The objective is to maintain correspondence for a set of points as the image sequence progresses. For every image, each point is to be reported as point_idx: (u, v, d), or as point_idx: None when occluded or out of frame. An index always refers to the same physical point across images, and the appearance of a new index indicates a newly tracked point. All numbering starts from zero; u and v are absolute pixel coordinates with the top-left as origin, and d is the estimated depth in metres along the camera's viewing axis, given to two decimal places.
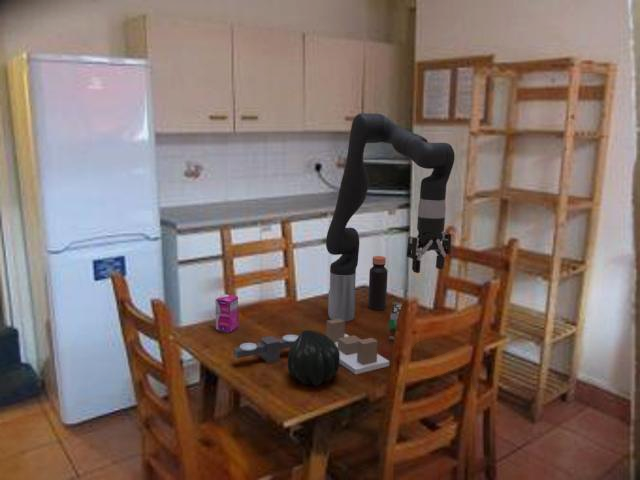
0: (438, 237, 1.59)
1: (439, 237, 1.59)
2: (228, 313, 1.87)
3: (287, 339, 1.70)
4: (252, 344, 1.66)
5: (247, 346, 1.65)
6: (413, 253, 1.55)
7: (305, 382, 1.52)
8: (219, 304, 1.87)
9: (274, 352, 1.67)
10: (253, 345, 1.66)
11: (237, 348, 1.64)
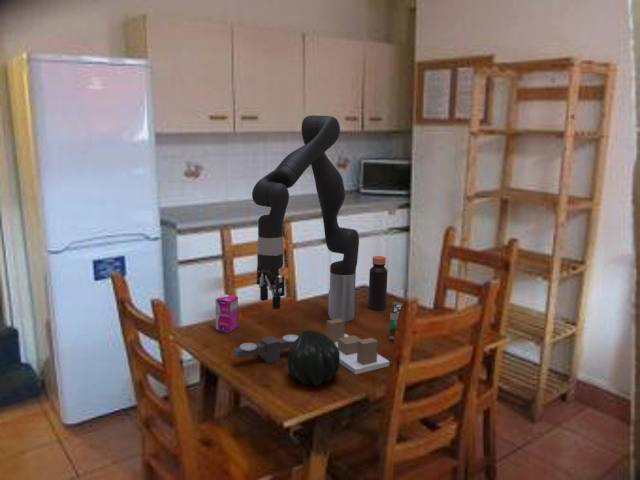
0: None
1: None
2: (228, 313, 1.87)
3: (287, 339, 1.70)
4: (252, 344, 1.66)
5: (247, 346, 1.65)
6: None
7: (305, 382, 1.52)
8: (219, 304, 1.87)
9: (274, 352, 1.67)
10: (253, 345, 1.66)
11: (237, 348, 1.64)
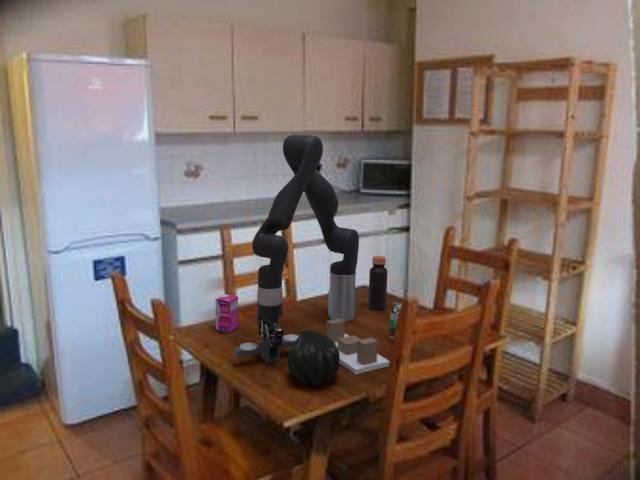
0: None
1: None
2: (228, 313, 1.87)
3: (287, 339, 1.70)
4: (252, 344, 1.66)
5: (247, 346, 1.65)
6: None
7: (305, 382, 1.52)
8: (219, 304, 1.87)
9: None
10: (253, 345, 1.66)
11: (237, 348, 1.64)
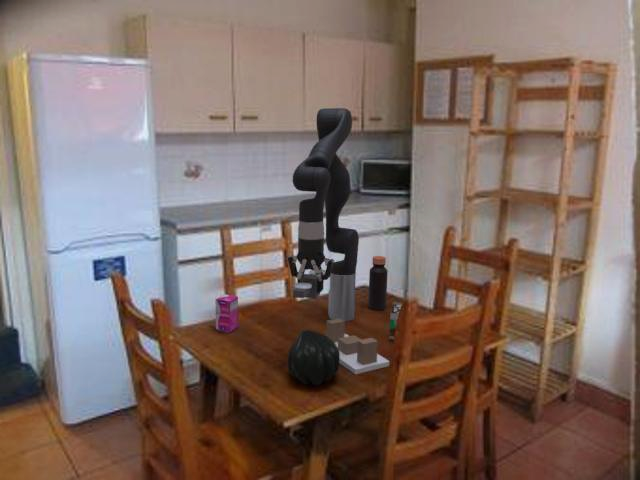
0: None
1: None
2: (228, 313, 1.87)
3: None
4: (302, 283, 1.61)
5: (303, 285, 1.59)
6: None
7: (305, 382, 1.52)
8: (219, 304, 1.87)
9: None
10: (305, 283, 1.61)
11: (297, 289, 1.57)
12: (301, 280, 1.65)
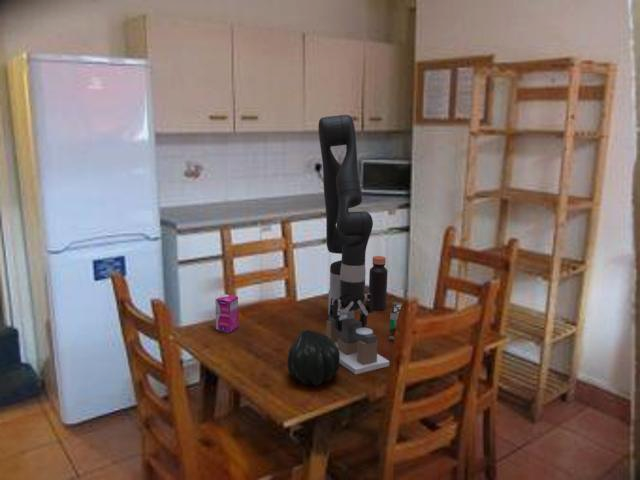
0: None
1: None
2: (228, 313, 1.87)
3: (344, 317, 1.76)
4: (360, 329, 1.66)
5: (365, 331, 1.65)
6: None
7: (305, 382, 1.52)
8: (219, 304, 1.87)
9: None
10: (362, 328, 1.67)
11: (368, 336, 1.62)
12: (349, 327, 1.68)
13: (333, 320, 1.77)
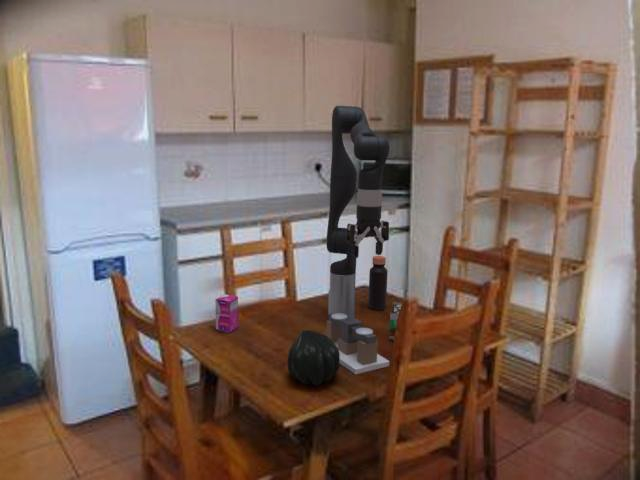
0: None
1: None
2: (228, 313, 1.87)
3: (344, 317, 1.76)
4: (360, 329, 1.66)
5: (365, 331, 1.65)
6: None
7: (305, 382, 1.52)
8: (219, 304, 1.87)
9: None
10: (362, 328, 1.67)
11: (368, 336, 1.62)
12: (349, 327, 1.68)
13: (333, 320, 1.77)
